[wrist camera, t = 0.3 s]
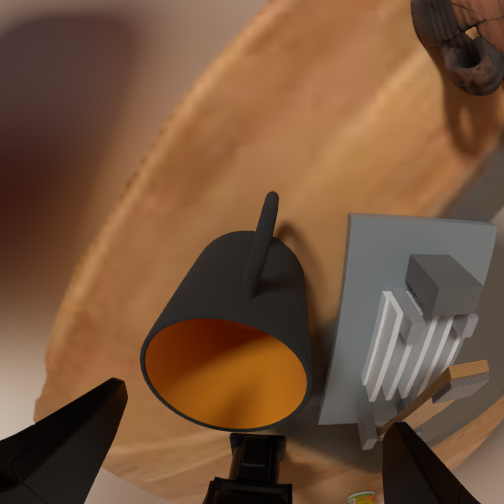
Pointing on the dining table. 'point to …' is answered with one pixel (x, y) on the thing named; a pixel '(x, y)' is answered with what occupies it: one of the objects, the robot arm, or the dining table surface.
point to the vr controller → (465, 40)
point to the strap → (441, 394)
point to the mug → (235, 335)
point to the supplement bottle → (362, 498)
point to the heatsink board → (401, 313)
